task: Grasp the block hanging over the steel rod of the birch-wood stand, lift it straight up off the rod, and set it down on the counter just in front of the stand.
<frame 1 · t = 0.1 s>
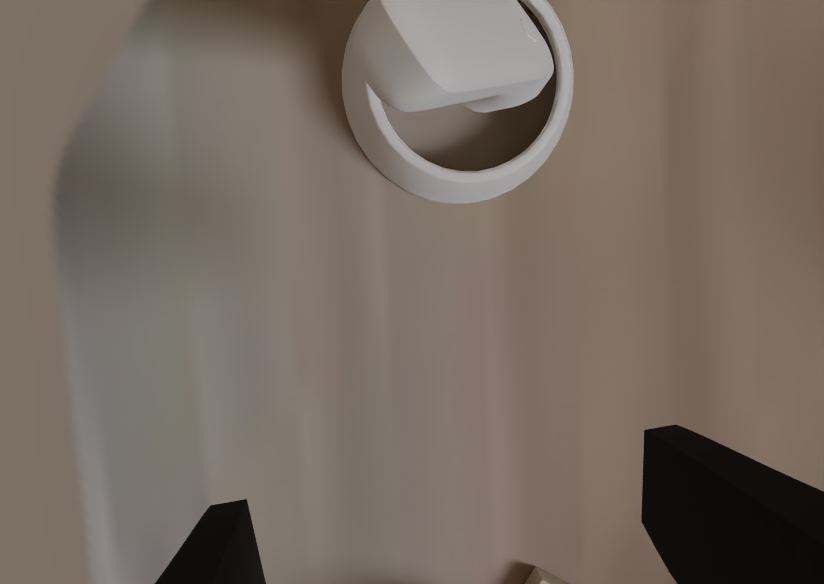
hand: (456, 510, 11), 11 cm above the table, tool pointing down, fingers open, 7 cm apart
hook: (457, 86, 20), on the table
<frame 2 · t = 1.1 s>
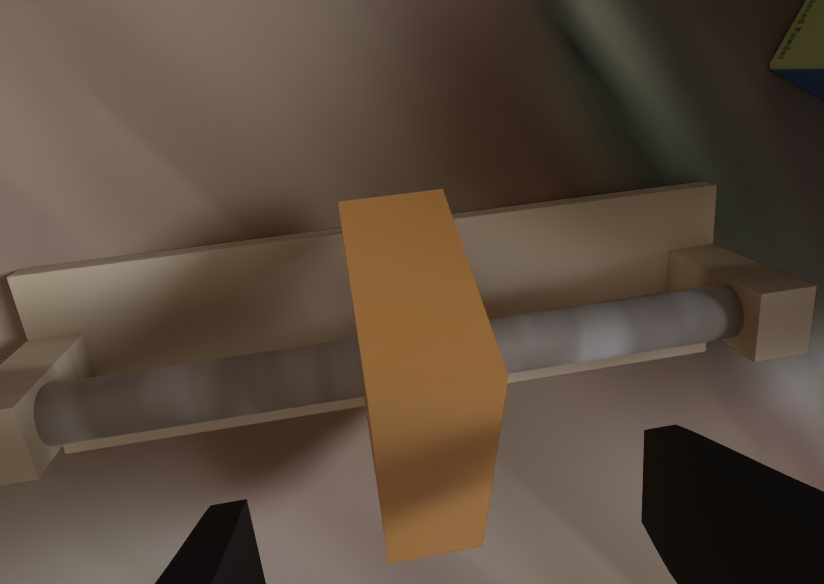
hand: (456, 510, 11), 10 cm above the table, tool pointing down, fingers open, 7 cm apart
block: (396, 303, 18), point 3 cm above the table, tilted 27°, touching stand
stand: (391, 309, 21), on the table
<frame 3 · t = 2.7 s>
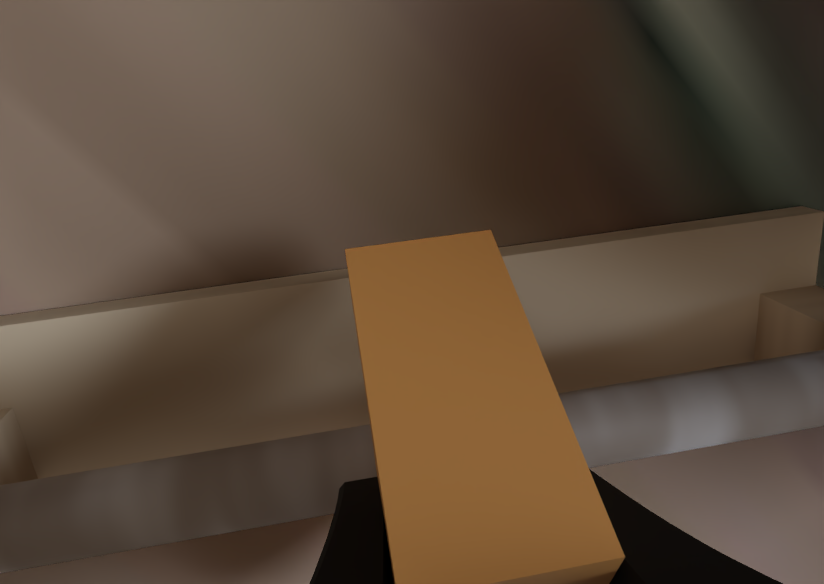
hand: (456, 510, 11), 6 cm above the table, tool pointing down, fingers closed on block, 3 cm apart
block: (421, 372, 14), point 3 cm above the table, tilted 27°, touching gripper, stand
stand: (409, 368, 16), on the table
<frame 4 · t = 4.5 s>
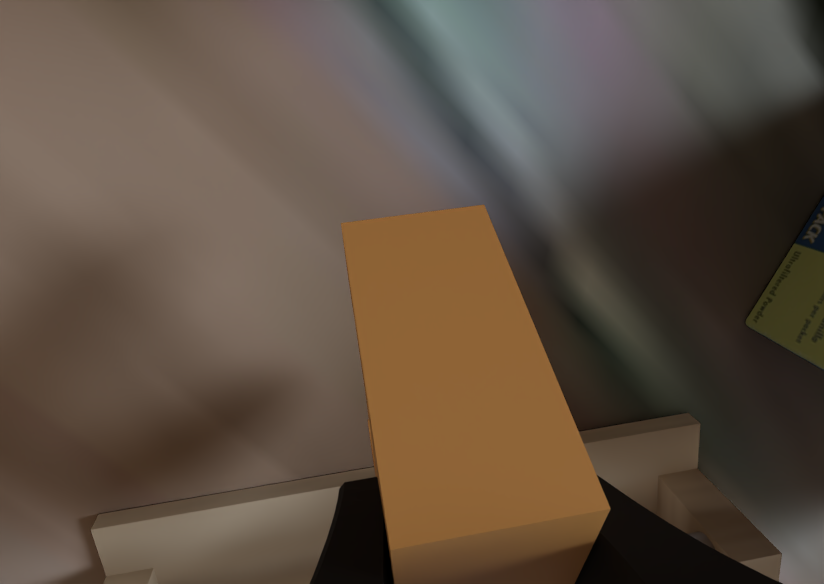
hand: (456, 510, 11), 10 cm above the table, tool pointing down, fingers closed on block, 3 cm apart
block: (416, 349, 14), point 7 cm above the table, tilted 27°, touching gripper
stand: (416, 527, 24), on the table
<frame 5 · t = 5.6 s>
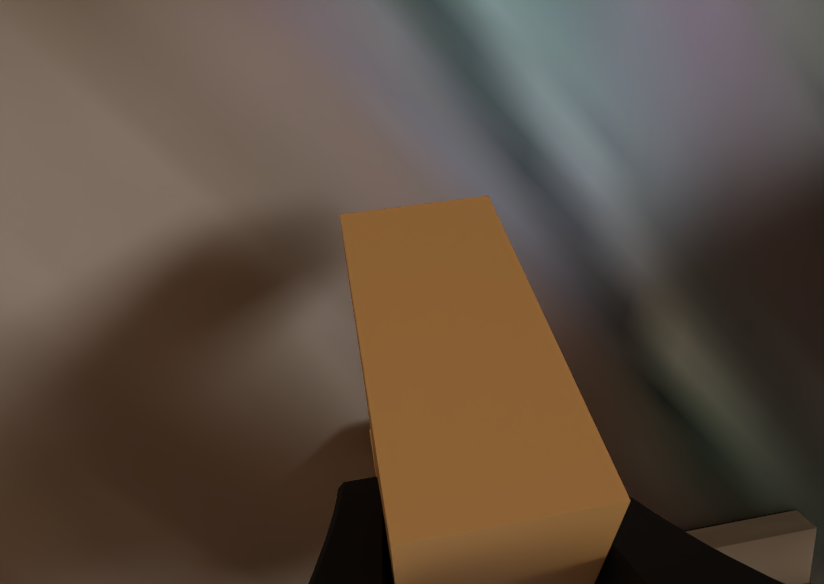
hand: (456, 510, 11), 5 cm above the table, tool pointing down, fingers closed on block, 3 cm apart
block: (419, 353, 13), point 2 cm above the table, tilted 24°, touching gripper
when the fingers open (5 cm above the table, at t = 6.2 s): block drops 2 cm, on the table.
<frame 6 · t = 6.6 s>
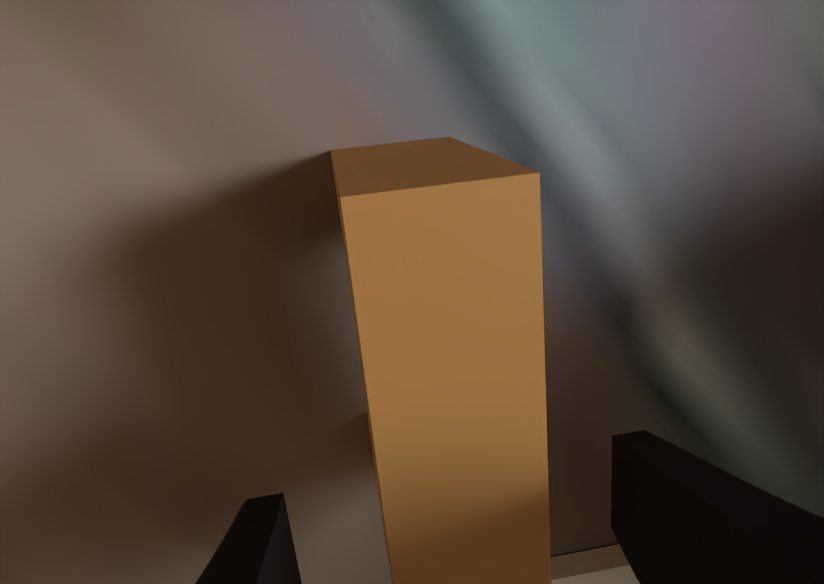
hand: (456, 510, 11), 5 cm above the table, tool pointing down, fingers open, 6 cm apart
block: (408, 311, 15), on the table
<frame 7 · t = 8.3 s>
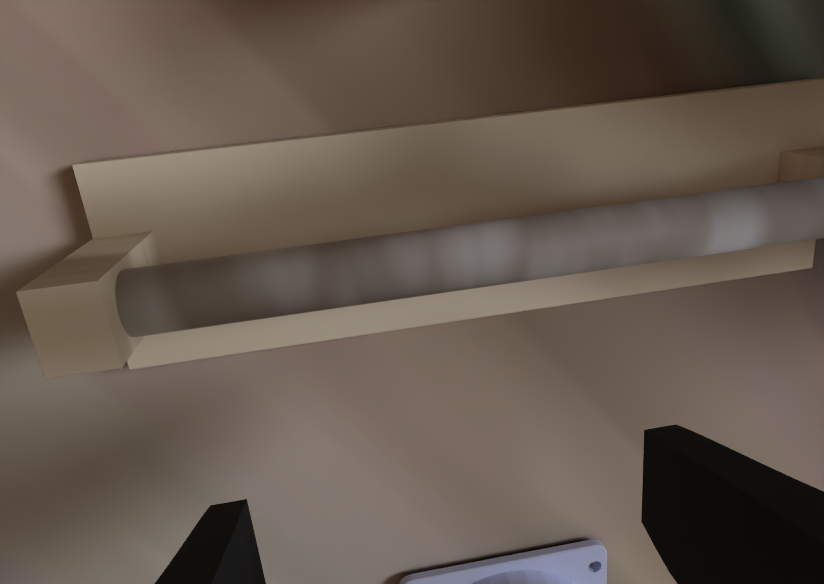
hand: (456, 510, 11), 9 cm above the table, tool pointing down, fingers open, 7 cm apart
stand: (479, 217, 19), on the table
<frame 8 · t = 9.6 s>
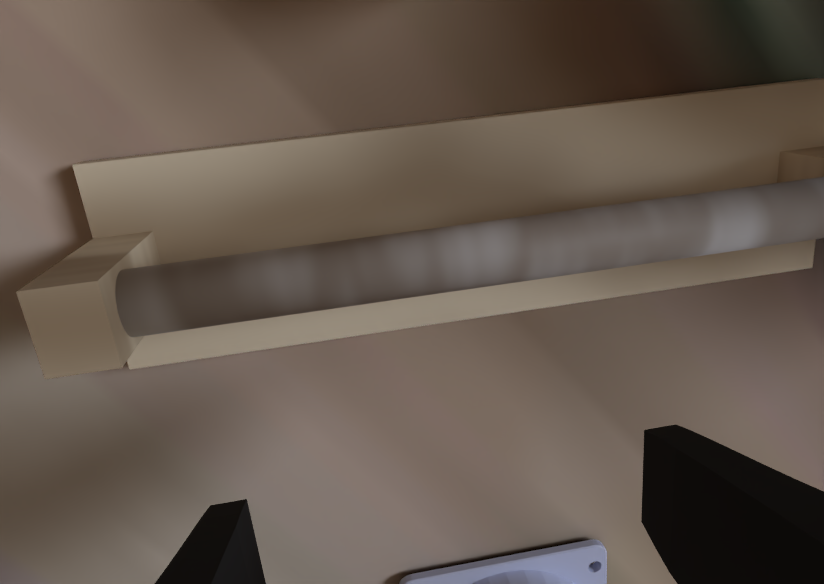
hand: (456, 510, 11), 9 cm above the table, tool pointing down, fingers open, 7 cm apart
stand: (479, 217, 19), on the table
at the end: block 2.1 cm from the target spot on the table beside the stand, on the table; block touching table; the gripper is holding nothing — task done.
